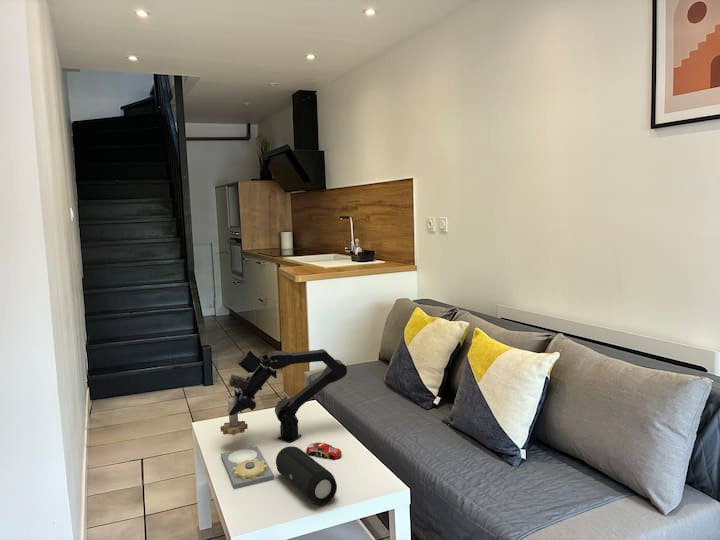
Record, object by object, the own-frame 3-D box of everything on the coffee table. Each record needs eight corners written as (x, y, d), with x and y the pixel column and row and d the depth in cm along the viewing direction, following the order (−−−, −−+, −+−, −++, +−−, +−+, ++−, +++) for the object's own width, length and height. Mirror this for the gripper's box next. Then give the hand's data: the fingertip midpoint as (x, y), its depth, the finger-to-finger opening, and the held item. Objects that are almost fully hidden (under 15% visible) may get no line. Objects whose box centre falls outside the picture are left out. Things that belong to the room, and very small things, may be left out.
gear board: (221, 457, 193) (220, 446, 192) (257, 449, 198) (256, 439, 198) (234, 489, 171) (233, 476, 171) (274, 479, 176) (273, 467, 176)
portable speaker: (274, 477, 178) (272, 448, 177) (300, 468, 184) (299, 440, 182) (311, 512, 157) (309, 480, 156) (340, 501, 163) (339, 470, 161)
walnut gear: (253, 427, 201) (251, 395, 199) (233, 437, 193) (230, 404, 191) (235, 422, 206) (233, 390, 205) (215, 431, 199) (212, 399, 197)
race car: (344, 455, 193) (344, 444, 192) (337, 462, 188) (337, 451, 187) (311, 449, 198) (311, 438, 197) (304, 455, 193) (304, 445, 192)
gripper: (237, 360, 207) (210, 392, 205) (244, 374, 189) (214, 409, 187) (259, 377, 210) (232, 409, 208) (268, 392, 193) (239, 427, 191)
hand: (229, 413), depth 198 cm, fingers closed on walnut gear, 3 cm apart
